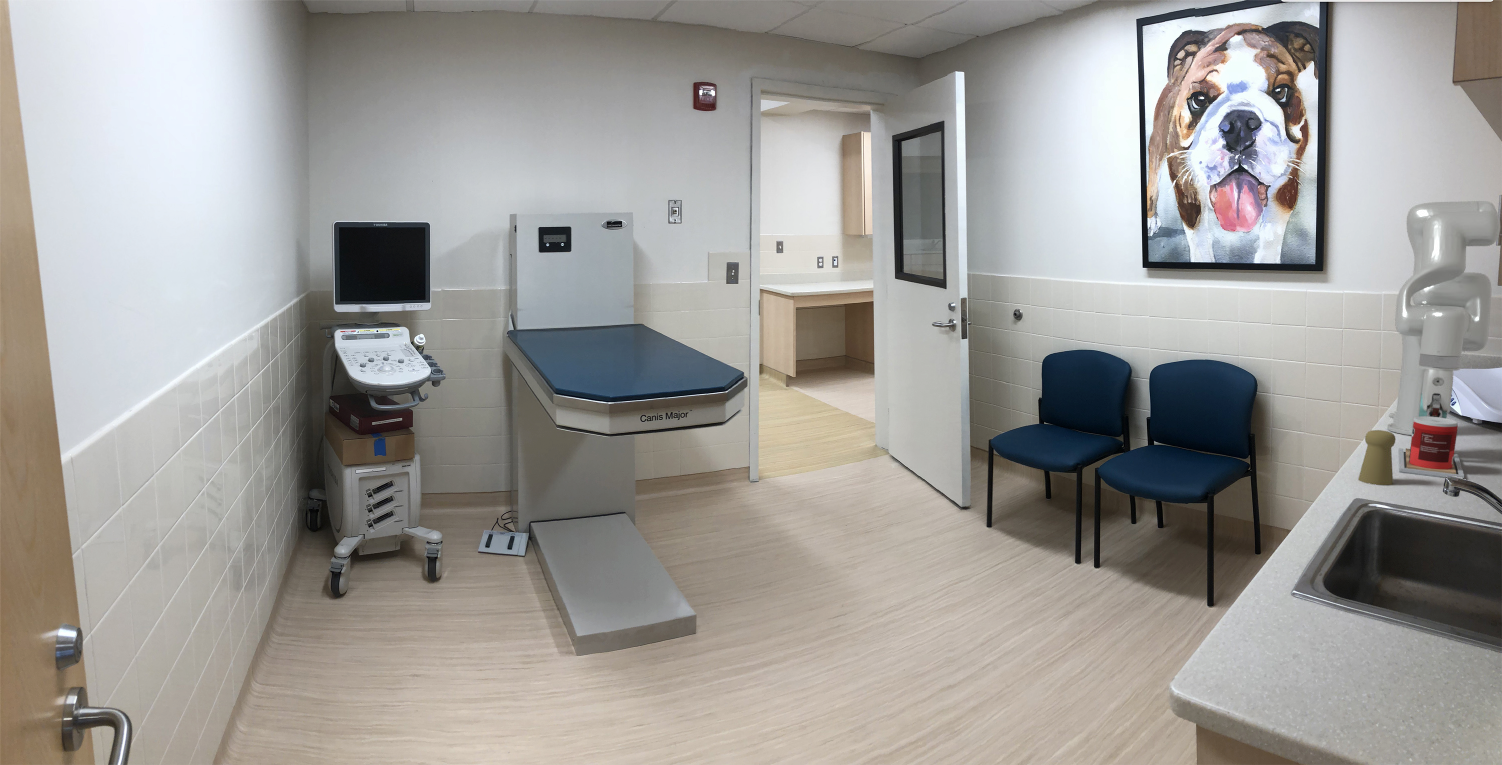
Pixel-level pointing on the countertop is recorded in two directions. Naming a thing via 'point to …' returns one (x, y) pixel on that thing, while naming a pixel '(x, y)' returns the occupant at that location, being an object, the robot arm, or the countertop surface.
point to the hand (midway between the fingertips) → (1430, 434)
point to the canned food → (1433, 442)
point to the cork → (1378, 458)
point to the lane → (1429, 473)
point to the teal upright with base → (1408, 465)
